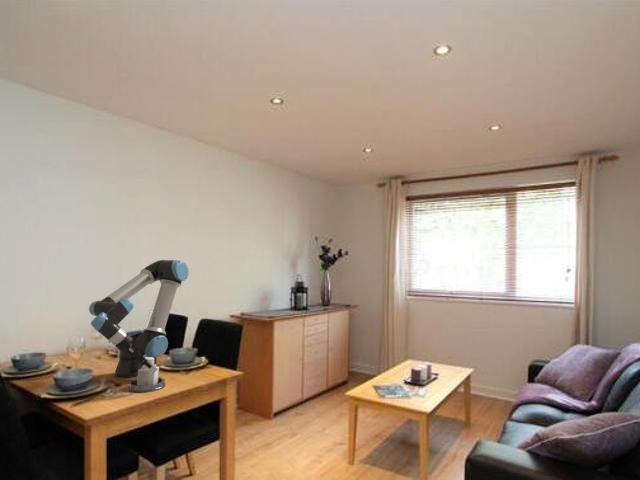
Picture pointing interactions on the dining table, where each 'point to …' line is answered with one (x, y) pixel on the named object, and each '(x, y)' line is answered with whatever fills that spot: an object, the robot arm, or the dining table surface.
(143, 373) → the container
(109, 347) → the dining table surface
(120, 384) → the dining table surface
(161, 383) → the blue-grey ceramic round dish
